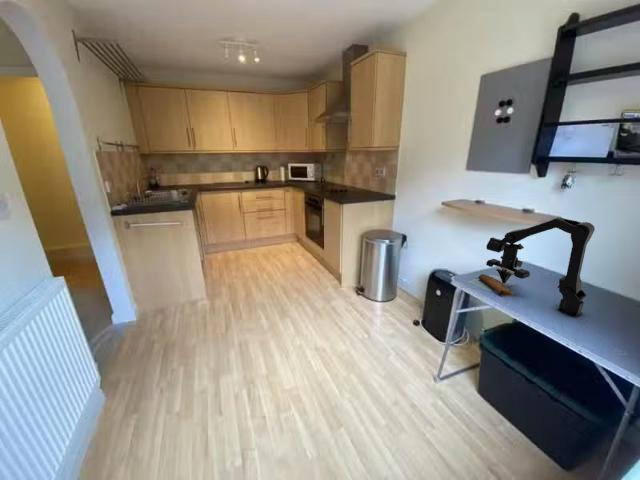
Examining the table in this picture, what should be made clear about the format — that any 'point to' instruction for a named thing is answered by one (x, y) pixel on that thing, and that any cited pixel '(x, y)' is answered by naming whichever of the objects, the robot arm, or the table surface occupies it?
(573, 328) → the table surface
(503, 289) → the sunglasses case
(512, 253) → the robot arm
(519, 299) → the table surface
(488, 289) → the mat
